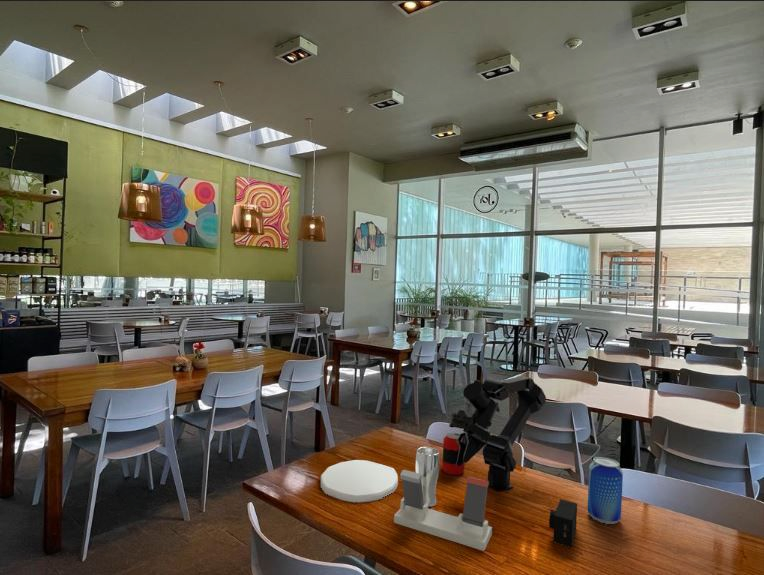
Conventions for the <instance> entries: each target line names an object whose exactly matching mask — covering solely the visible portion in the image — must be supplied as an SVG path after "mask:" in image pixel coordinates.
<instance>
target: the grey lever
mask: <svg viewBox="0 0 764 575" xmlns="http://www.w3.org/2000/svg"><path fill="white" fill-rule="evenodd" d="M421 479H422V475H421V474H419V473H416V471H415V472H414V471H411V470H408V469H407V470H406V469H402V470H401V472H400V480H401V483H402V484H401V485H402V486H401V487H402V492H403V497H404V502H405V505H407V506H410V507H414V508H417V509H421V510H423V506H424V501H423V492H422V483H421Z"/></svg>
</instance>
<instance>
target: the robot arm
mask: <svg viewBox="0 0 764 575" xmlns="http://www.w3.org/2000/svg"><path fill="white" fill-rule="evenodd" d="M513 393H516V395H517V400H518V405H517V406H516V407H515V410H514V411H513V413H512V415H511V416H510V418H509V419H508V421H507V422H506V424H505V426H504V427H503V429H502V430H501V432H500V433H499V435H496V434H491V432H490V430H488V429H489V428H490V427H491V425H492V424H493V423H492V421H493V418H494V417H495V416H494V415H495V414H496V412H497V413H499V412H500V406H499V402H496V401H500V402H503V401H504V400H507V399H508V398H509V397H510V394H513ZM462 394H463V397H464V398H465V399H466V400H467V401H468V403H469V404H470V405H471V406H472V408H474V411H473V412H472V414H471V415H469V416H468V415H467V414H466V411H465V410H463V409H459V410H458V412H457V413H456V412H454V413H452V414H450V415H449V424H448V426H449V427H450V428H452V429H453V428H455V429H462V431H463V432H462V433H459V434H460V435H459V436H458V438H457V440H456V441H457V444H458V446H459V454H458V459H457V464H456V465H457V466H459V467H460V466H461V465H462V464H463V463H464V462H465V464H467V463H468V462H469V461H470V460H471V459H473V457H475V455H476V454H477V453H479V452H480V450H482V455H483V462H484V464H485V465H488V471H487V481H489V484H488V487H491V488H492V489H494V490H496V491H498V492H500V491H505V490H509V489H513V488H514V485H513V484H511V483H510V482H511V473H512V472H513V473H514V471H515V469H516V467H517V466H516V465H517V461H516V460H515V458H514V456H513V455H514V450H513V445H514V444H515V442H516V440H517V438H518V437H519V435H520V433H521V431H522V430H523V428H524V427H525V425H526V423H527V422H528V420H529V418H530V417H531V415H533V414H535V413H537V412H539V411H540V410H541V409H542V408H543V406H544V405H545V404H546V401H547V397H546V395H545V393H544V390H543V389H542V387H540V386H539V385H538V384H537V383H536V382H535V381H534V379H533V378H532V377H529V376H524V375H518V376H517V377H511V378H507V379H502V380H498V379H492V378H486V379H485V380H483V382H482V381H481V380H477V379H475V380H474V381H473V382H472V383H469V384H468V385H466V386H465V387H464V388H463V393H462ZM494 400H496V401H494Z"/></svg>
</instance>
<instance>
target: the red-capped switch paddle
mask: <svg viewBox="0 0 764 575" xmlns="http://www.w3.org/2000/svg"><path fill="white" fill-rule="evenodd" d="M488 484H489V481H488V480H485V479H480V478H477V477H473V476H466V489H465V496H464V497H465V498H464V505H463V513H462V514H463V522H465V523H469V524H472V525H476V526H479V527H483V523H484V521H485V515H486V514H485V512H486V505H487V504H486V503H487V494H488V487H489V485H488Z"/></svg>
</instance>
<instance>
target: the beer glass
mask: <svg viewBox="0 0 764 575" xmlns="http://www.w3.org/2000/svg"><path fill="white" fill-rule="evenodd" d="M415 454H416V456H415V464H414V466H415V467H414V468H415V473H419V474H421V475H422V479H421V483H422V492H423V501H424V505H425V503H426V504H428V508H432V507H434V506H436V504H437V496H436V487H437V482H438V478H439V472H440V450H438V449H437V448H435V447H431V446H422V447H418V448H417V449H416V453H415Z"/></svg>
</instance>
